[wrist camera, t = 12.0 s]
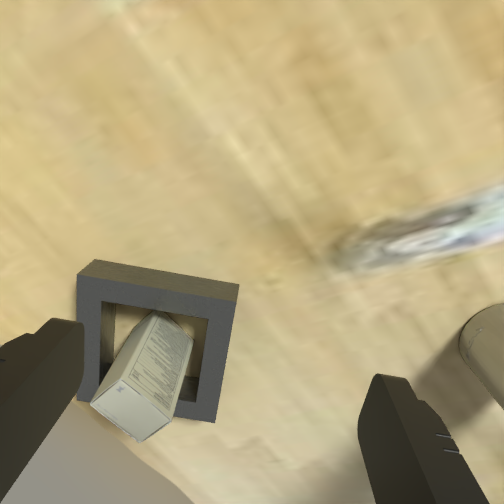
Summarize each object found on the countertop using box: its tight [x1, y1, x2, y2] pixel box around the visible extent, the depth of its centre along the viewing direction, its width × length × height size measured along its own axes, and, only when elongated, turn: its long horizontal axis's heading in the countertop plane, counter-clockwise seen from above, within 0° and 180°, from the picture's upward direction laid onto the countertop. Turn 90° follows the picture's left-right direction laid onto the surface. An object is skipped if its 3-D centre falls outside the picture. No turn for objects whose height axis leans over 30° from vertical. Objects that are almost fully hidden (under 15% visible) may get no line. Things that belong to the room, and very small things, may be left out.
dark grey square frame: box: [77, 259, 239, 423], centre depth 41 cm, size 16×16×4 cm
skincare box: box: [90, 310, 194, 443], centre depth 37 cm, size 6×4×12 cm
